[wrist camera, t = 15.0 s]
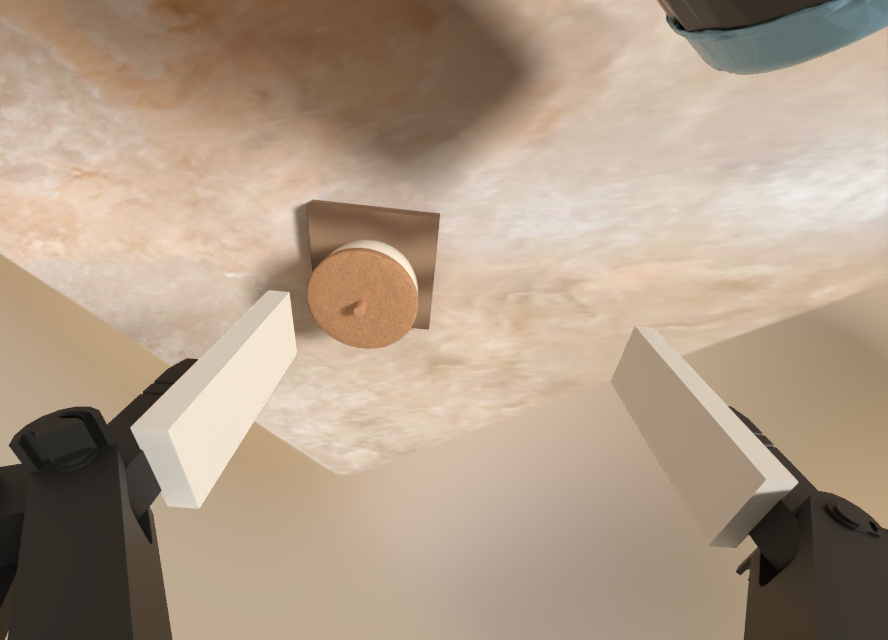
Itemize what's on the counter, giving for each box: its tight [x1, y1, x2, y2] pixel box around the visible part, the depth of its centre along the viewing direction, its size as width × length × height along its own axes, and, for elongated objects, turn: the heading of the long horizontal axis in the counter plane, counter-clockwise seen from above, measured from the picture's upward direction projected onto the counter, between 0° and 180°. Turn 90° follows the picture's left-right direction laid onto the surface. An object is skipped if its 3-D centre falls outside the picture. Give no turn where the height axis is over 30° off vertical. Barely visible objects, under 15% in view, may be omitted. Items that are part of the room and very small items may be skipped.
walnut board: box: [307, 200, 440, 329], centre depth 42 cm, size 14×14×2 cm
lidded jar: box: [307, 240, 418, 349], centre depth 37 cm, size 11×11×9 cm
